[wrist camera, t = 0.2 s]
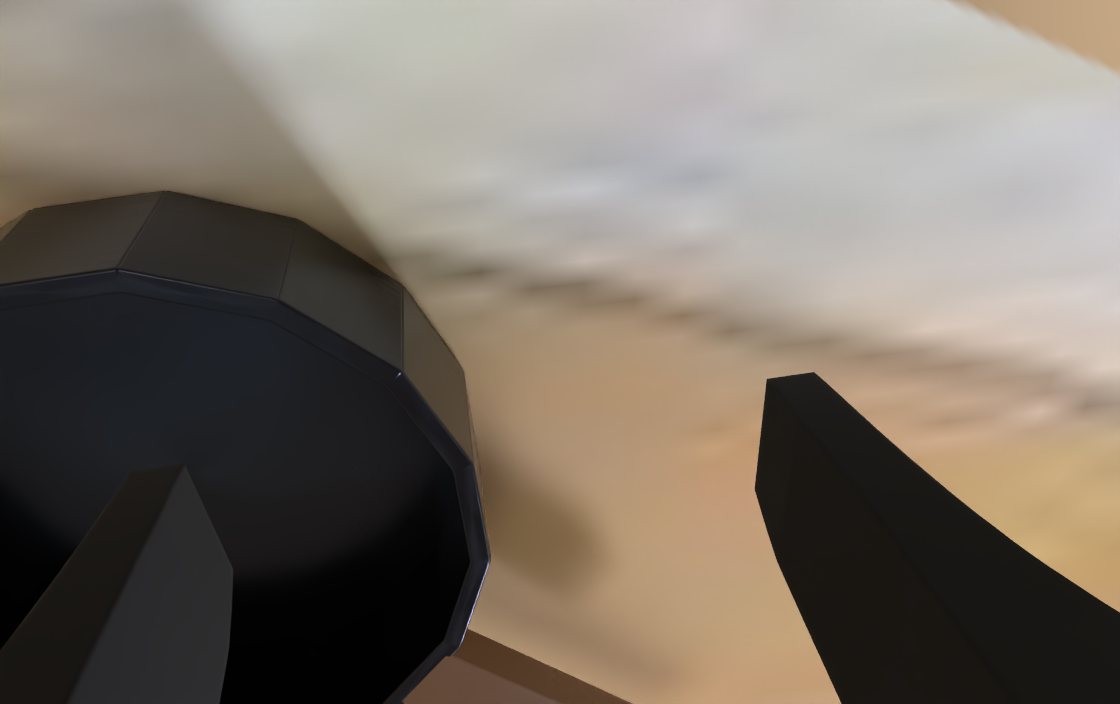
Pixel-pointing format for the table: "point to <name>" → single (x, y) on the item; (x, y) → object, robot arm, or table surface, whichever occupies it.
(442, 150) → the table surface
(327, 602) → the pan
